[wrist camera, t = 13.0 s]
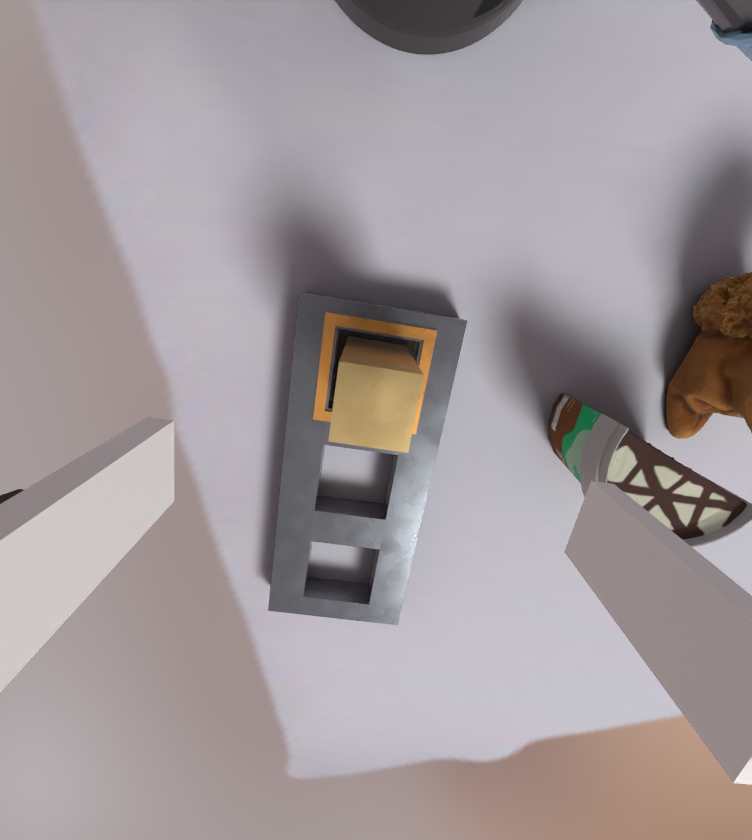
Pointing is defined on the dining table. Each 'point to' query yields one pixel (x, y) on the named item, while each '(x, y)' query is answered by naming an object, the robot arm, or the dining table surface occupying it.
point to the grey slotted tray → (309, 433)
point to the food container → (643, 474)
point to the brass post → (375, 395)
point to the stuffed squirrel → (715, 361)
